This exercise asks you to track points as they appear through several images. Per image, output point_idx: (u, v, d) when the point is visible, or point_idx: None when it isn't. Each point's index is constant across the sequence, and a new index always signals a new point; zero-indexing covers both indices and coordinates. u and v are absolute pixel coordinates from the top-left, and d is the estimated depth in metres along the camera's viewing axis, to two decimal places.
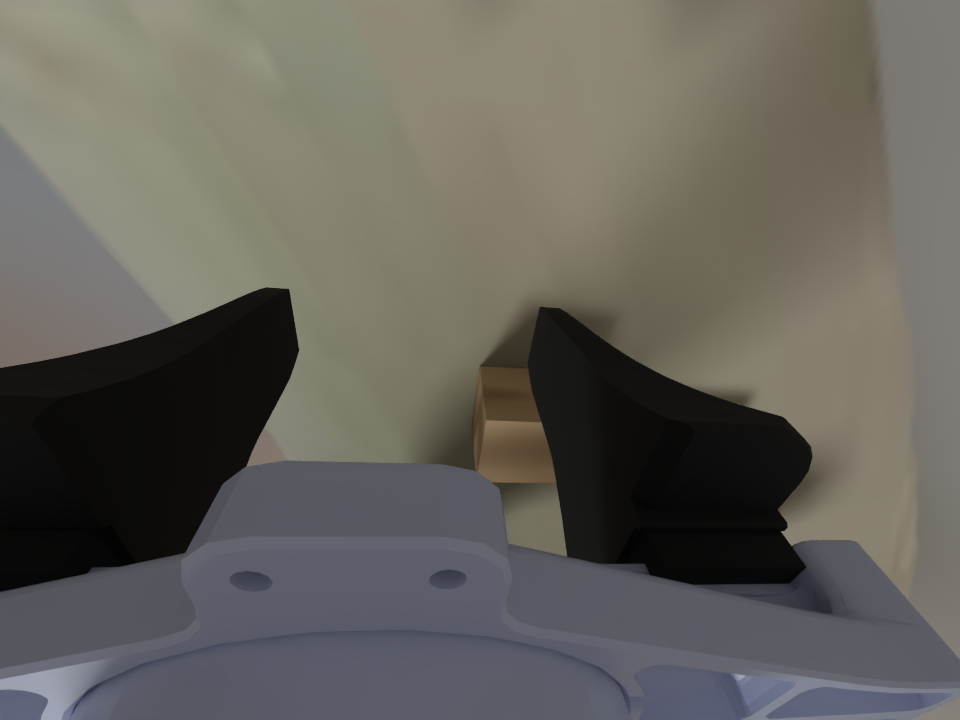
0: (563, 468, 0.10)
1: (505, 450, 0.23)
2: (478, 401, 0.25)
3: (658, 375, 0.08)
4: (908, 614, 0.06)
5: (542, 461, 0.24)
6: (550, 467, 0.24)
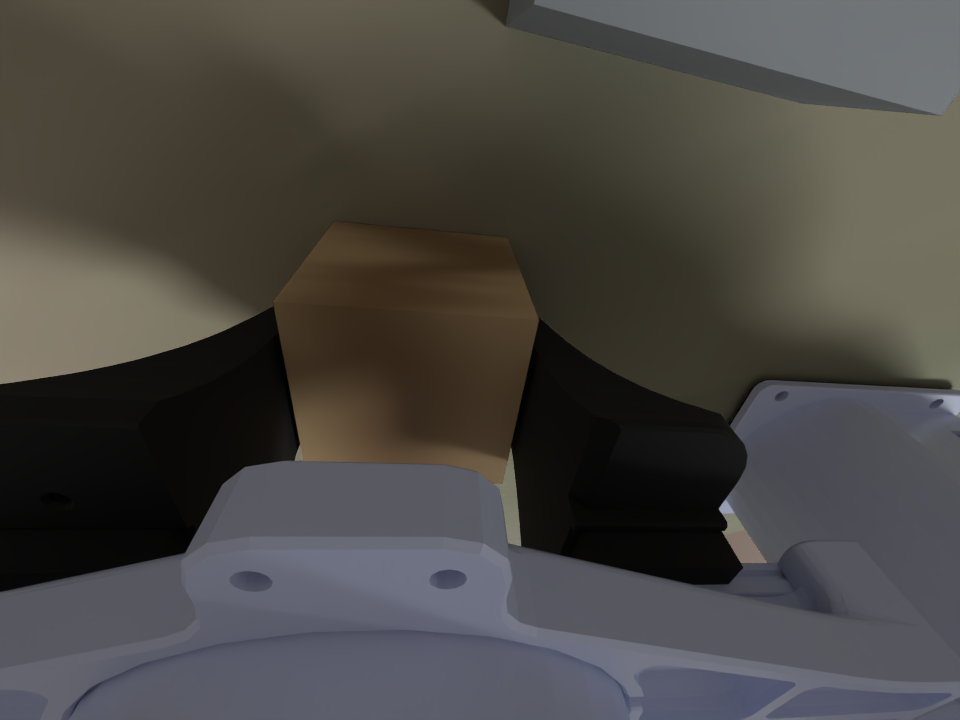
0: (521, 467, 0.10)
1: (395, 445, 0.10)
2: None
3: (608, 372, 0.08)
4: (908, 614, 0.06)
5: (438, 369, 0.09)
6: (463, 346, 0.08)
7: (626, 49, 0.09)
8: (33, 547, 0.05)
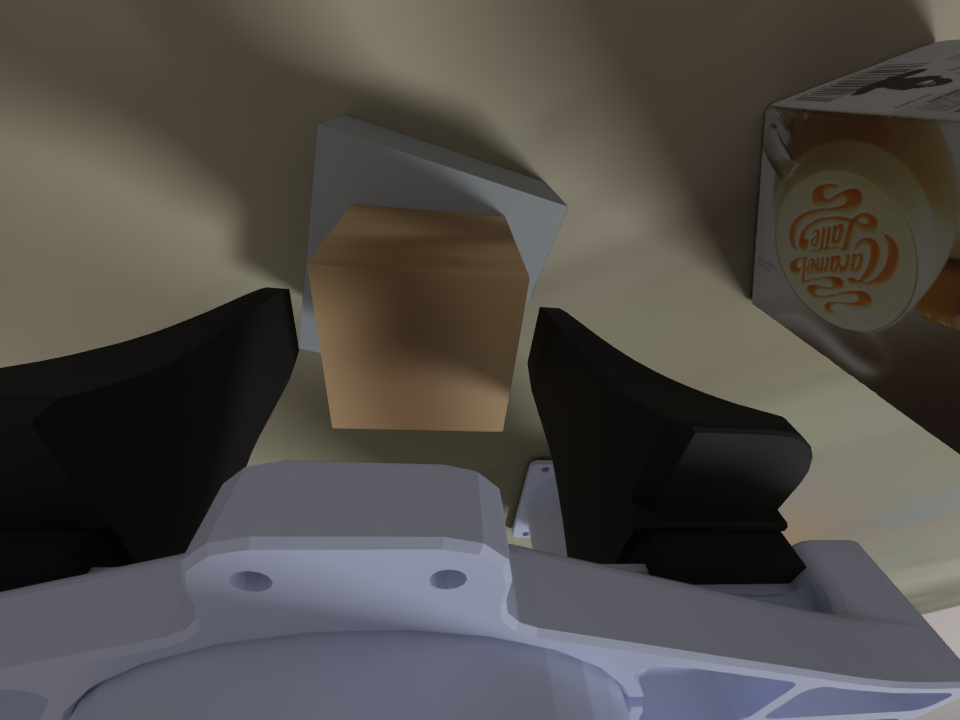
0: (563, 468, 0.10)
1: (409, 395, 0.11)
2: None
3: (658, 375, 0.08)
4: (908, 614, 0.06)
5: (445, 323, 0.10)
6: (466, 302, 0.10)
7: None
8: None
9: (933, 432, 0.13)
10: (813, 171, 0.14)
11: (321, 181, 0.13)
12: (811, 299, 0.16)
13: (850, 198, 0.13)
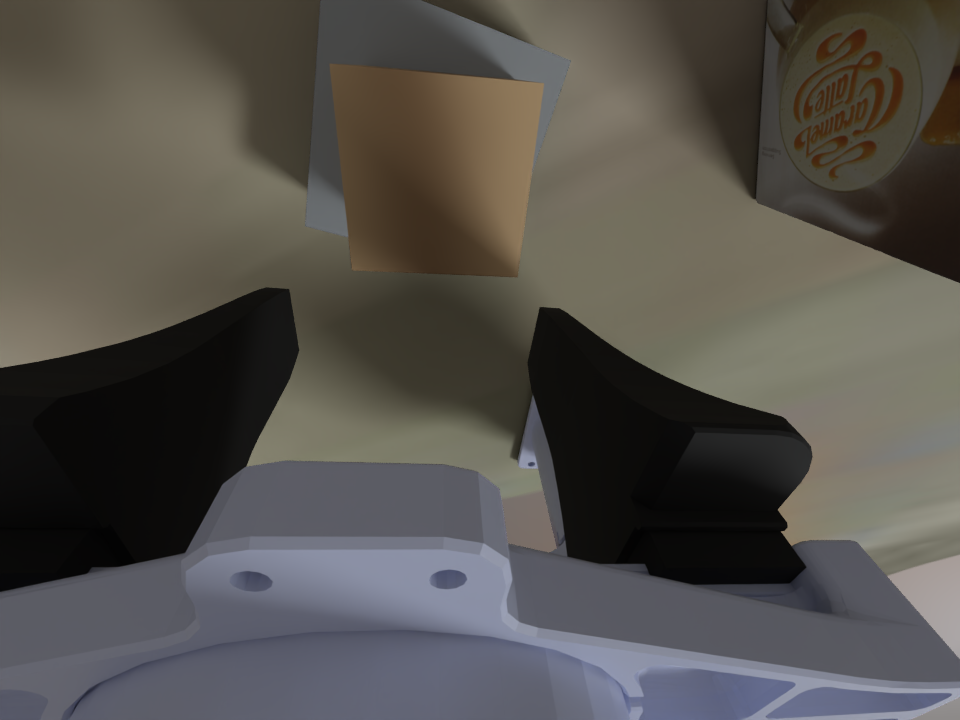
0: (563, 468, 0.10)
1: (426, 229, 0.12)
2: None
3: (658, 375, 0.08)
4: (908, 614, 0.06)
5: (461, 140, 0.10)
6: (482, 113, 0.10)
7: None
8: None
9: (938, 271, 0.13)
10: (817, 28, 0.14)
11: (327, 28, 0.13)
12: (816, 171, 0.16)
13: (854, 42, 0.13)
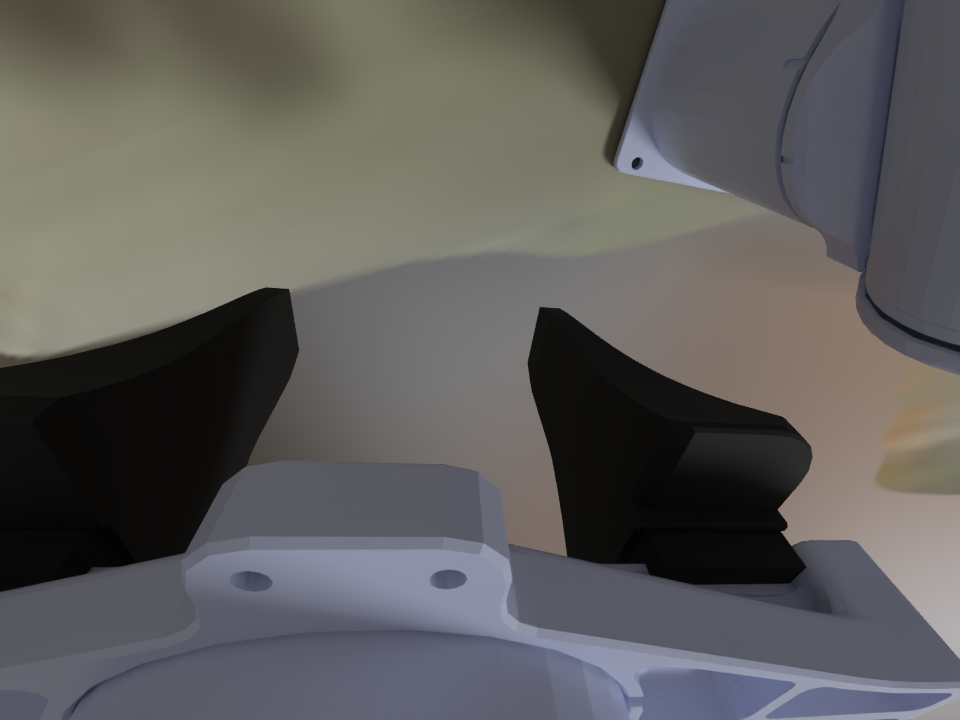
0: (563, 468, 0.10)
1: None
2: None
3: (658, 375, 0.08)
4: (908, 614, 0.06)
5: None
6: None
7: None
8: None
9: None
10: None
11: None
12: None
13: None
